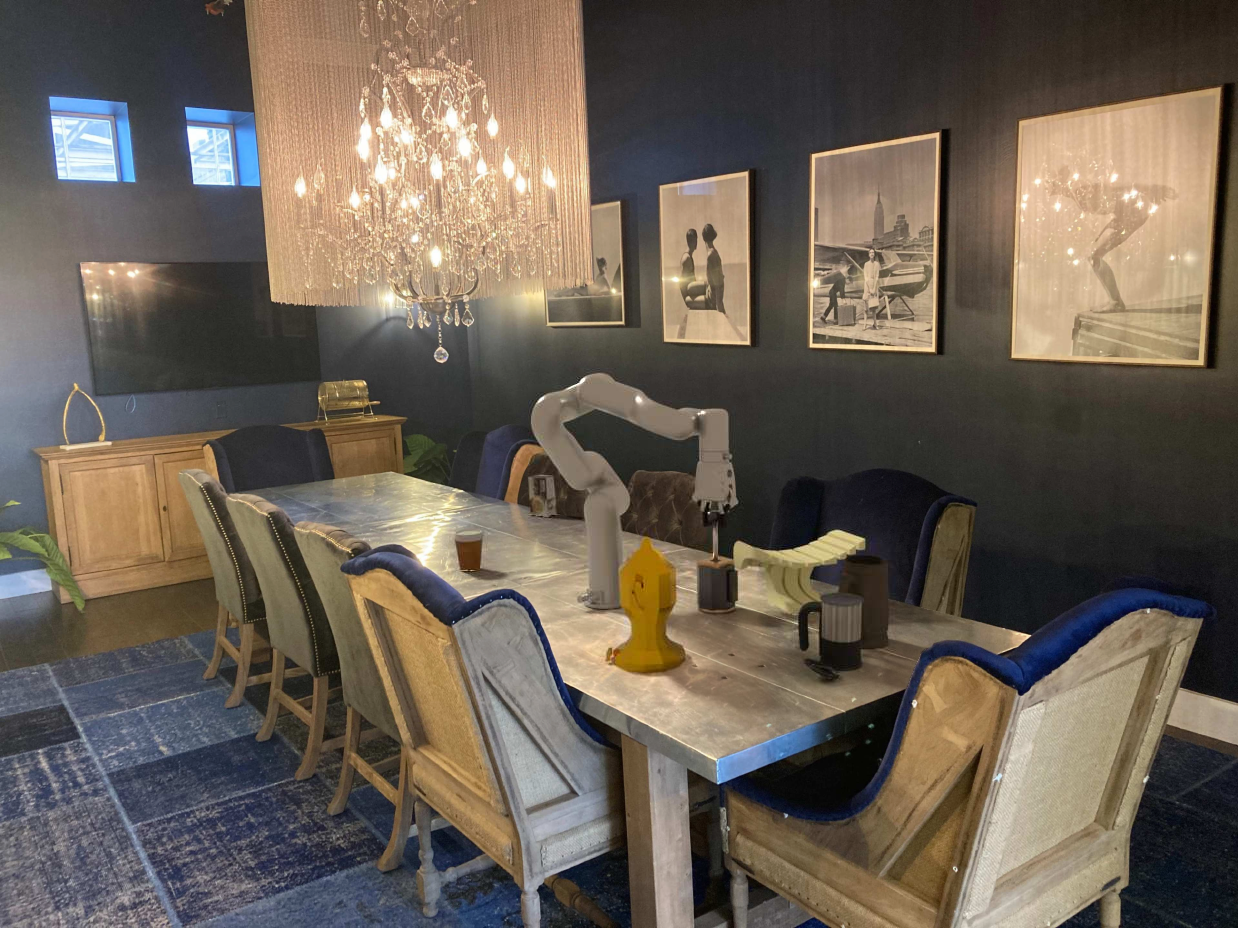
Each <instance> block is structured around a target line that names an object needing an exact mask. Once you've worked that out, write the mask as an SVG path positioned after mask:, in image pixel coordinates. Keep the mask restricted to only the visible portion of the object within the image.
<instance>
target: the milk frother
mask: <svg viewBox="0 0 1238 928" xmlns="http://www.w3.org/2000/svg"><path fill="white" fill-rule="evenodd" d="M820 596H821V597H820V600H821V602H815V601H813V602H808V603H806V604H804V605H803V606H802V607H801V609H800V611H799V613H798V615H797V626H798V627H797V629H798V631H797V632H798V644H799V649H800V650H801V651H803V652H806V651H808V649H809V648H810V639H809V618H808V617H809V615H810V614H812V613H811V612H815V613H819V614H818V615H819V616H818V617H819V619H818V621H819V622H818V623H819V624H818V656H819V659H818V660H817V659H813V658H809V657H806V658H804V660H803V664H804V665H805V667H807V668H808V669H809V670H811V671H812V672H814V673H816V674H817V675H819V676H821V677H823V678H824V679H825V680H828V679H831V680H833V679H838V678H839V677H840V673H839V671H850V670H856V669H859V668H861V667H862V666H863V661H862V648H861V612H862V603H863V602H864V599H863V598H862V597H860V596H858V595H854V594H849V593H838V592H829V593H824V594H821V595H820Z"/></svg>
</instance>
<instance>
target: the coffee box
mask: <svg viewBox="0 0 1238 928" xmlns="http://www.w3.org/2000/svg"><path fill="white" fill-rule="evenodd" d="M527 478H528V494H529V511H530V515H536V516H535V517H538V516H543V517H542V518H550V517H549V516H551V515H555V516H557V515H558V514H557V513H558V512H557V497H556V495H557V493H556V490H557V489H556V475H550V474H548V475H547V474H534V475H531V476H528V477H527ZM551 517H552V516H551Z"/></svg>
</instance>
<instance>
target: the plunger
mask: <svg viewBox="0 0 1238 928" xmlns="http://www.w3.org/2000/svg"><path fill="white" fill-rule="evenodd" d="M718 514H720V512H719V509H716V510H715V509H710V511H707V521H708V522H712V556H713V562H718V557H719V556H718V555H719V553H718V552H719V551H718V549H719V547H718V545H719V544H718V543H719V542H718V541H719V538H718V537H719V536H718V532H719V531H718V530H719V529H718ZM703 567H705V566H703ZM725 567H727V566H725ZM709 568H711V567H709ZM723 568H724V567H723Z"/></svg>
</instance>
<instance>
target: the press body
mask: <svg viewBox="0 0 1238 928" xmlns="http://www.w3.org/2000/svg"><path fill="white" fill-rule="evenodd" d="M703 566H705V567H703ZM725 566H727V567H725ZM709 567H711V568H709ZM723 567H724V568H723ZM738 572H739V571H738V570H736V567H735V565H734V559H732V558H726V557H720V556H718V562H713V555H712V556H710V557H707V558H704V559H700V560H698V561H696V600H697V601H696V602H697V610H698V611H699V612H700V613H703V614H708V615H725V614H730V613H732V611H733V612H734V611H735V610H736V609H735V608H736V602H738V601H739V576H738V575H739V573H738Z"/></svg>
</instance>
